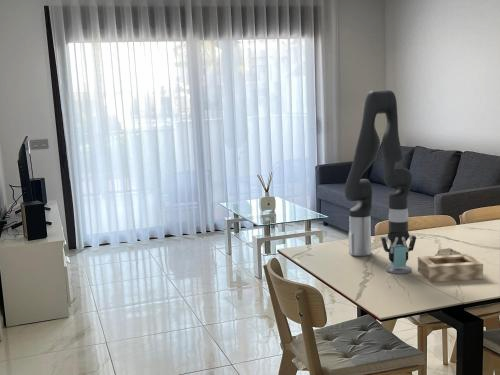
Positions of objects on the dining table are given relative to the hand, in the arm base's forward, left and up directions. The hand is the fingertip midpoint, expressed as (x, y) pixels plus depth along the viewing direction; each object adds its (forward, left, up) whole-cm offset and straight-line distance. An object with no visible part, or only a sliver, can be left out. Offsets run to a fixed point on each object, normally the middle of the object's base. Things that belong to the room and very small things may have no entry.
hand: (398, 261), depth 233 cm
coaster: (0, 0, -4) cm, 4 cm away
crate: (+17, -9, -4) cm, 20 cm away
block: (0, 0, -2) cm, 2 cm away
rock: (+24, +11, -4) cm, 27 cm away
